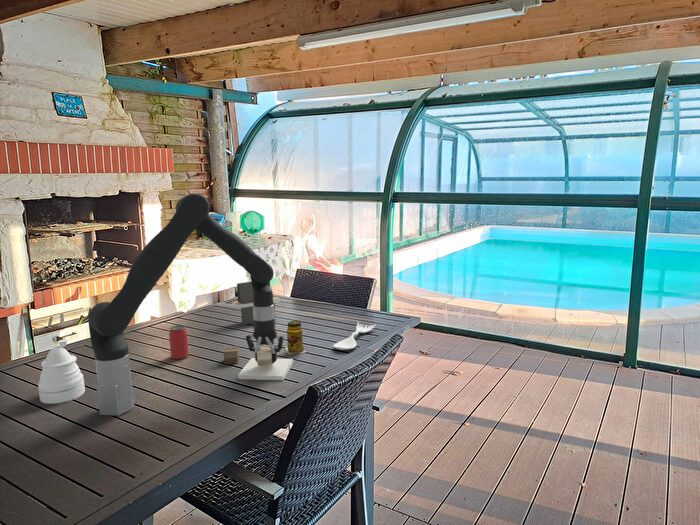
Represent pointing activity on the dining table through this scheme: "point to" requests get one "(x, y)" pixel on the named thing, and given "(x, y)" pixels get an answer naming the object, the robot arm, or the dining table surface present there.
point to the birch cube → (264, 357)
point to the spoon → (352, 338)
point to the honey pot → (60, 377)
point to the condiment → (294, 338)
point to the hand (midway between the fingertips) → (266, 362)
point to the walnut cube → (231, 355)
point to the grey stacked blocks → (247, 302)
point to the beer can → (178, 342)
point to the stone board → (266, 370)
